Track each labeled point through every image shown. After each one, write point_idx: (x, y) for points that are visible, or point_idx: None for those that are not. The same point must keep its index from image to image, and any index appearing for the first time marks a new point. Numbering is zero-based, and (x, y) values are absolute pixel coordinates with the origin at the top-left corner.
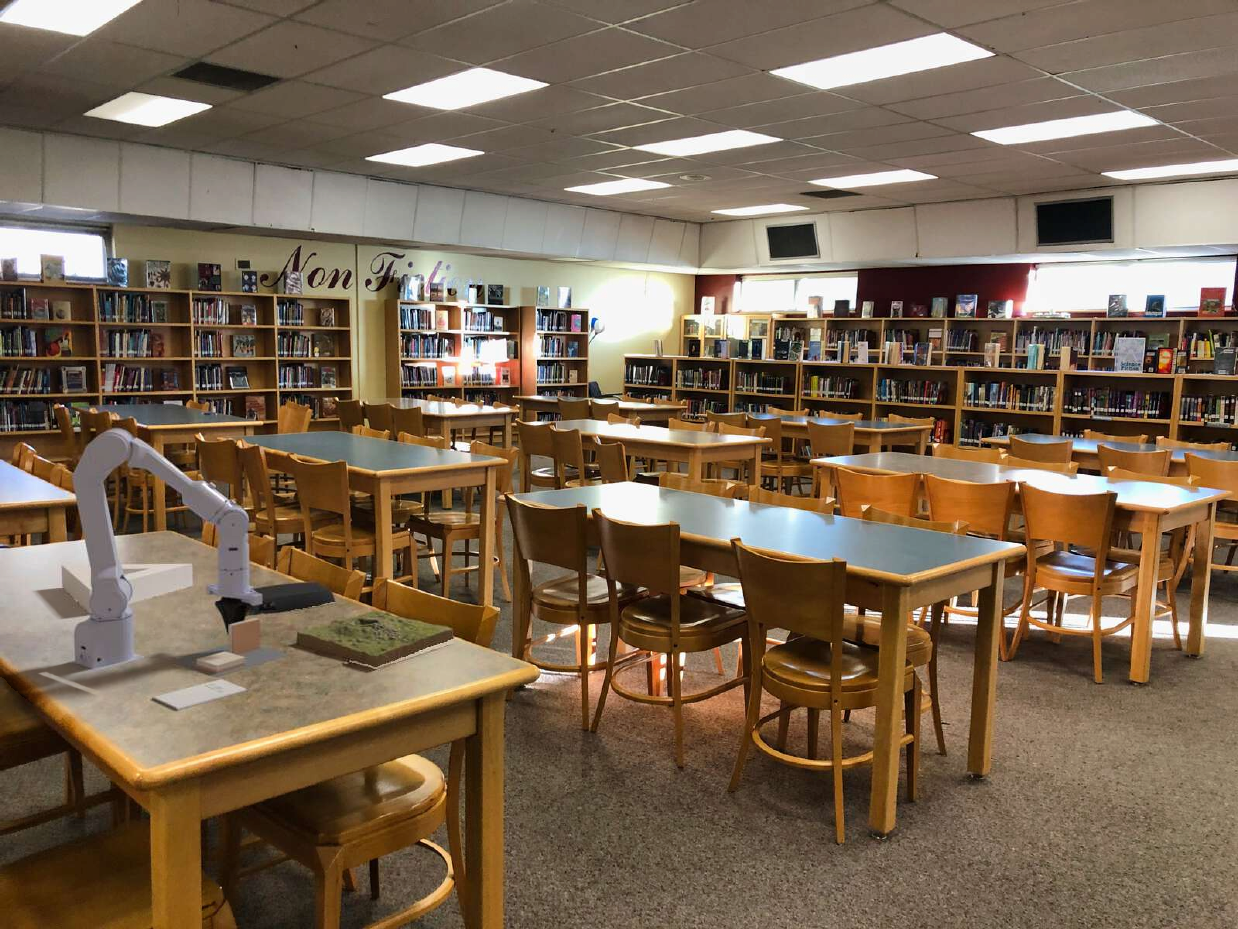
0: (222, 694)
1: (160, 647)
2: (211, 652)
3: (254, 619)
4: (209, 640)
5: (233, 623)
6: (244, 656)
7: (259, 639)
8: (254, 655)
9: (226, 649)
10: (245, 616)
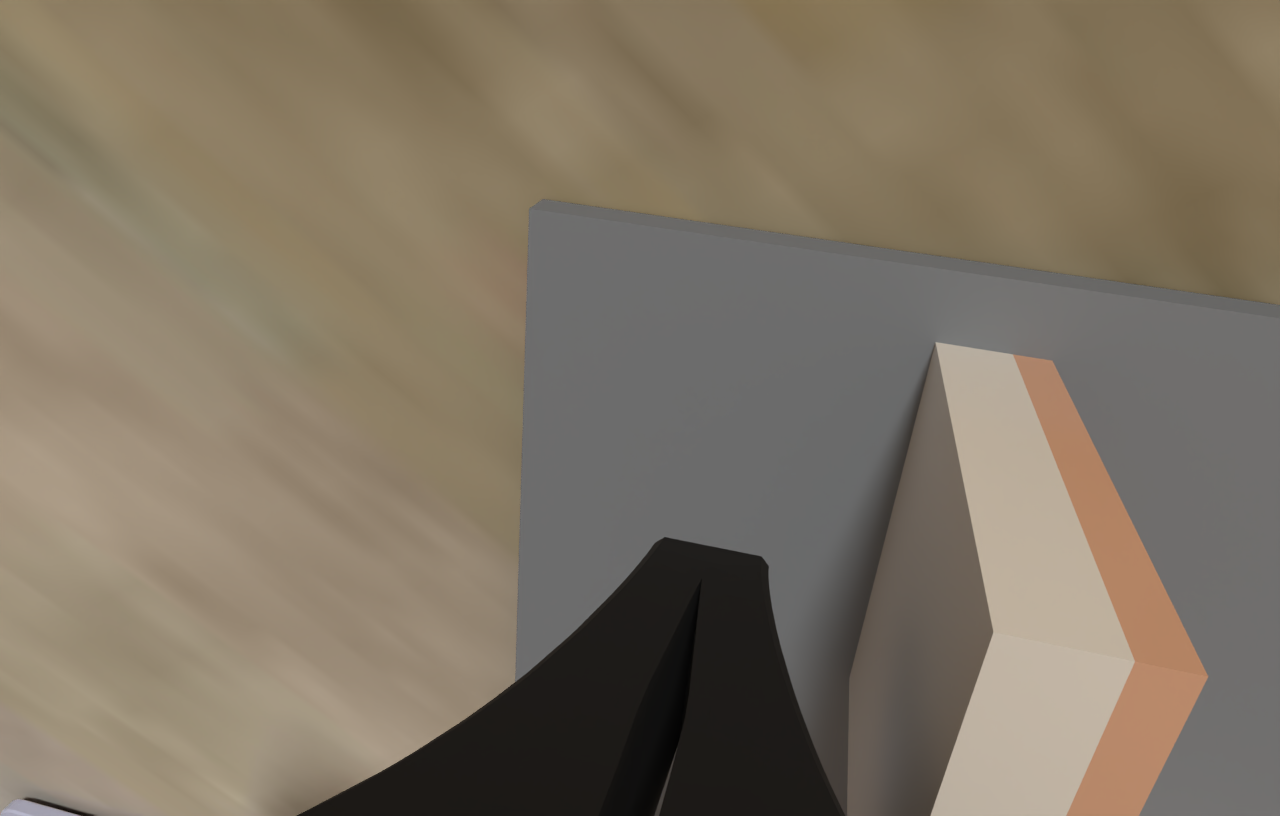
0: None
1: (73, 623)
2: None
3: (1087, 733)
4: (150, 274)
5: None
6: None
7: (1081, 430)
8: (1186, 611)
9: None
10: (828, 783)
